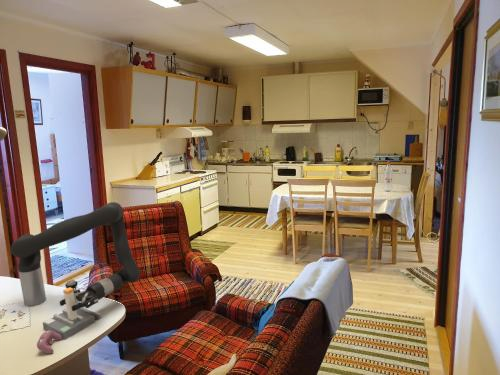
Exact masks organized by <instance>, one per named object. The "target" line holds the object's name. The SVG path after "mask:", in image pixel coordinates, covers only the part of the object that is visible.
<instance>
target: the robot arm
mask: <svg viewBox="0 0 500 375" xmlns="http://www.w3.org/2000/svg"><path fill="white" fill-rule="evenodd" d="M106 225H109V226H110V229H111V232H112V239H113V240H112V241H113V249H114V252H115V254H114V255H115V256H116V260H117V263H118V265H121V266H122V267H123V268H121V269H119V270H118V271H116V272H115V273H114V274H112V275H109V276H107V277H105V278H102V279H100V280H98V281H96V282H93V283H92V284H90V285H87V286H86V289H85V290H83V291H81V289H79V288H78V289H76V291H74V299H75V305H73V306H72V311H75V310H77V309H79V308H81V307H82V308H85V309H89V308H91V307H92V306H94V305H95V304H98V303H99V300H102V299H103V298H104V297H107V296H108V295H110V294H112V293H114V292H115V291H117V290H119V289H120V288H122V287H123V285H124V284H125V283H136V282H138V281H139V280H140V278H141V271H140V268H139V266H138V264H137V262H136V261H135V259H134V257H133V254H132V250H131V246H130V243H129V240H128V236H127V232H126V227H125V219H124V210H123V207H122V205H121V204H120V203H118V202H116V201H113V202H111V201H110V202H108V203H106V204H104V205H103V206H101V207H99V208H97V209H95V210H93V211H91V212H89V213H86V214H83V215H77V216H73V217H70V218H67V219H65V220H61V221H59V222H57V223H56V224H55V223H54V224H53V225H52V226H50V227H48V228H46V229H45V230H43V231H41V232H39V233H37V234H32V233H26V234H22V235H21V236H20V237H18V238H17V239H16V240H14V242H13V243H12V245H11V246H10V253H11V254H12V256H14V257H15V258H17V259H18V258H19V261H18V264H17V270H18V271H17V272H18V277H19V282H20V288H21V292H22V298H23V304H24V306H26V307H34V306H38V305H41V304H43V303H44V302H46V300H47V295H46V289H45V284H44V278H43V271H42V264H41V261H42V256H41V255H42V254H41V251H42V250H44V249H47V248H49V247H52V246H55V245H58V244H62V243H64V242H68V241H69V240H72V239H75V238H77V237H80V236H82V235H84V234H85V233H87V232H90V231H91V230H94V229H95V228H98V227H102V226H106ZM76 297H77V298H78V299H76ZM64 305H65V306H66V301H65V298H63V299H61V300H60V301H59V306H61V307H63V306H64Z"/></svg>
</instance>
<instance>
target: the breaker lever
mask: <svg viewBox="0 0 500 375" xmlns="http://www.w3.org/2000/svg"><path fill="white" fill-rule="evenodd" d="M74 289H75V288H74ZM74 289H73V288H70V287H69V288H65V289H63V294H64V299H65V301H66V304H65V306H66V307H65V308H66V310H67V314H68V319H69V320H71V321H73V322H76V321H77V312H76V310H75V311H72V306H73V305H75V304H76V302H75V299H74Z"/></svg>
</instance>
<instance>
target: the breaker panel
mask: <svg viewBox="0 0 500 375" xmlns="http://www.w3.org/2000/svg"><path fill="white" fill-rule="evenodd" d="M76 312H77V321H76V322H73V321H71V320H69V319H68V314H67V308H66V309H63V310H62V312H61V313H59V314H58V313H55V314H53V315H52V316H53V317H51V318H49V319H47V320H45V321H43V322H42V328H43V330H44V331H49V330H50V331H54V332H55V333H57V334H59V335H61V336H62V339H61V340H64V341H65V340H67V339H68V338H70V337H72V336H73V335H75V334H77V333H79V332H81V331H83V330H84V329H86V328H88V327H89V326H91V325H93V324H95V323H96V321H95V318H94V316H93V315H90V314H88V313H86V312H83V311H81V310H79V309H77V310H76Z"/></svg>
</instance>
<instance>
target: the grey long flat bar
mask: <svg viewBox="0 0 500 375" xmlns="http://www.w3.org/2000/svg"><path fill="white" fill-rule="evenodd" d="M79 310H81V311H83V312H86V313H88V314H90V315H93V316H94V318H95V322H97V321H99V320H100V319H102V314H99V313H96V312H94V311H92V310H89V309H88V308H86V307H84V308H82V307H81V308H79Z"/></svg>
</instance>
